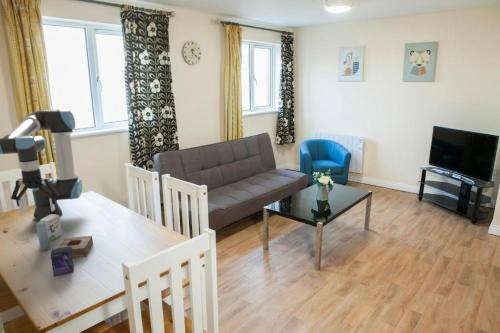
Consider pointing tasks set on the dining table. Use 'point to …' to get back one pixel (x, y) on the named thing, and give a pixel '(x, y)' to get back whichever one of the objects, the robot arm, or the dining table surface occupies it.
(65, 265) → the box
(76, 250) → the socket
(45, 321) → the dining table surface
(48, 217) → the ink box
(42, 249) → the peg
